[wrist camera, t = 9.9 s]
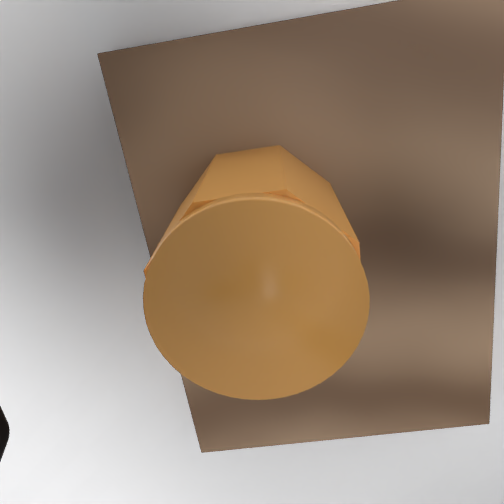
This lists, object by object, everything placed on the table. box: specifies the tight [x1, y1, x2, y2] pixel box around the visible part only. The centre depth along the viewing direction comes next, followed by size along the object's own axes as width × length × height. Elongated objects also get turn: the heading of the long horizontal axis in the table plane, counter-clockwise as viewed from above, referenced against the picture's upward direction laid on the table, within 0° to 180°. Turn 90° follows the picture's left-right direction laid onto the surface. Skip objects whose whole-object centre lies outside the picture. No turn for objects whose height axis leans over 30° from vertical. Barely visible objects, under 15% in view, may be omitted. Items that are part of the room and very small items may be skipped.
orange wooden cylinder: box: [143, 145, 370, 400], centre depth 13 cm, size 5×5×6 cm
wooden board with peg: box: [98, 0, 504, 453], centre depth 15 cm, size 16×12×6 cm
